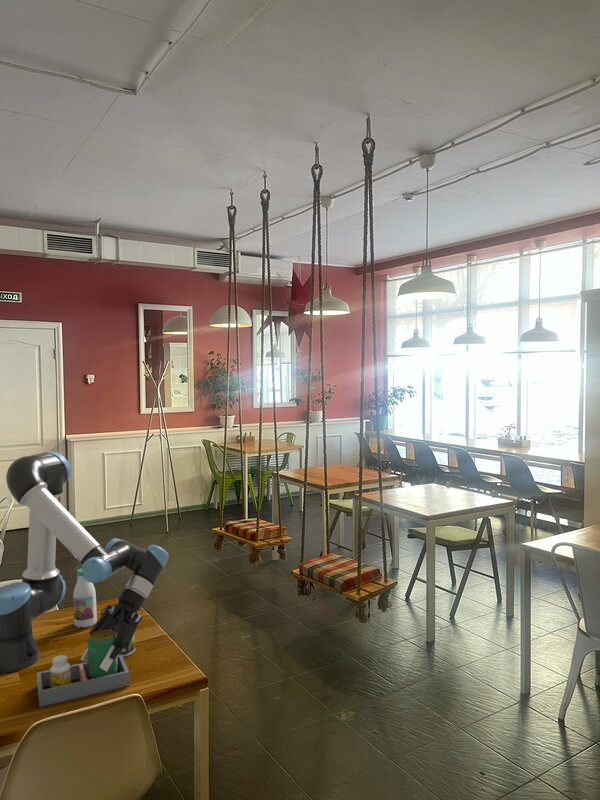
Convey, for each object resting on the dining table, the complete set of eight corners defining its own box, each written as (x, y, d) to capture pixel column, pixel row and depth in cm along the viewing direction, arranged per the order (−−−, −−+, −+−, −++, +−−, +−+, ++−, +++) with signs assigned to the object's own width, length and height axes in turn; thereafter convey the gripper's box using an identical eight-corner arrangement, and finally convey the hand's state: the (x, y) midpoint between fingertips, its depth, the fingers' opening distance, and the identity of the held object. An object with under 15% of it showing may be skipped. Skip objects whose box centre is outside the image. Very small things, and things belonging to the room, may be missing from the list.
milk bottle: (80, 619, 226) (78, 565, 226) (100, 619, 225) (98, 566, 225) (70, 627, 219) (68, 572, 218) (90, 628, 218) (88, 573, 217)
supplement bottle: (75, 688, 176) (74, 655, 176) (61, 697, 171) (60, 663, 171) (60, 685, 178) (59, 652, 178) (46, 694, 173) (45, 660, 173)
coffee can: (140, 645, 203) (139, 603, 202) (126, 659, 193) (124, 616, 192) (112, 643, 205) (110, 602, 205) (96, 657, 195) (94, 614, 194)
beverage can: (120, 677, 178) (118, 636, 178) (91, 684, 174) (90, 642, 174) (114, 665, 185) (113, 626, 185) (87, 672, 181) (85, 632, 181)
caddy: (37, 686, 178) (36, 672, 177) (122, 667, 188) (121, 654, 188) (39, 706, 166) (39, 692, 166) (129, 685, 177) (129, 672, 177)
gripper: (165, 605, 186) (125, 680, 173) (120, 593, 197) (79, 661, 185) (151, 593, 181) (109, 669, 169) (106, 581, 193) (63, 651, 180)
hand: (93, 665), depth 177 cm, fingers closed on beverage can, 8 cm apart
